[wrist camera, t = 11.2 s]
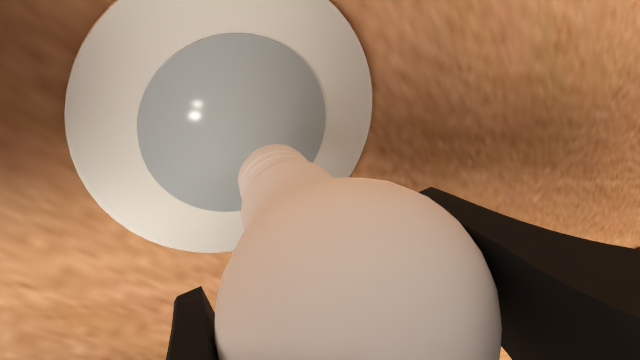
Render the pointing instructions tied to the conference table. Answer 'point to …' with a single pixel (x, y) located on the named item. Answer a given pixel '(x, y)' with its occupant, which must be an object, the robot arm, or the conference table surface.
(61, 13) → the conference table surface
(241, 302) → the lightbulb
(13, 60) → the conference table surface
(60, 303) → the conference table surface
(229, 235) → the saucer
